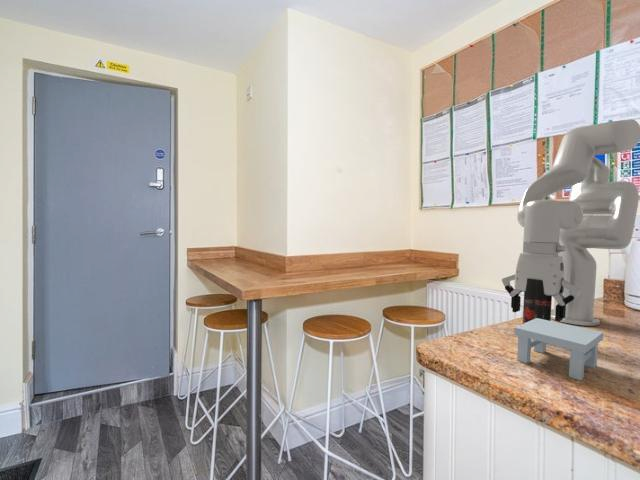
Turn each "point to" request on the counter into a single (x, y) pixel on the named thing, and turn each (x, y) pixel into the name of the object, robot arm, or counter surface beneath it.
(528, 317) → the deodorant
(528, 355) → the pale blue square tabletop
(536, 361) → the counter surface
